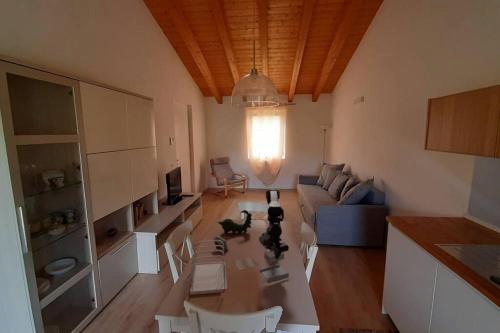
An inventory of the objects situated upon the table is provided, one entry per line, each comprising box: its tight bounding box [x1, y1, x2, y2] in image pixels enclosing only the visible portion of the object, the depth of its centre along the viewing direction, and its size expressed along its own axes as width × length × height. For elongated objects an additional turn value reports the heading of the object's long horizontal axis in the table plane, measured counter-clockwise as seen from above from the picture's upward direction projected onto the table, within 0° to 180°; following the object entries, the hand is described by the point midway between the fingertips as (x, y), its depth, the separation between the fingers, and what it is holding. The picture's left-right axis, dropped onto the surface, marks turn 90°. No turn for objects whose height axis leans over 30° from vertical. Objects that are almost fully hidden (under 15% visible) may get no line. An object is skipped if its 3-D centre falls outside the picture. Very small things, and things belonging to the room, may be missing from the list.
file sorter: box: [189, 239, 228, 296], centre depth 127 cm, size 25×17×16 cm
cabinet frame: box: [259, 263, 290, 284], centre depth 131 cm, size 12×10×2 cm
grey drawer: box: [263, 245, 285, 264], centre depth 129 cm, size 6×9×7 cm, turn 115°
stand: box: [232, 256, 259, 271], centre depth 140 cm, size 12×10×2 cm
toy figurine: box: [217, 209, 253, 235], centre depth 183 cm, size 9×19×25 cm
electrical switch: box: [213, 235, 230, 252], centre depth 156 cm, size 9×5×9 cm, turn 44°
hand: (274, 256), depth 129 cm, fingers closed on grey drawer, 5 cm apart
